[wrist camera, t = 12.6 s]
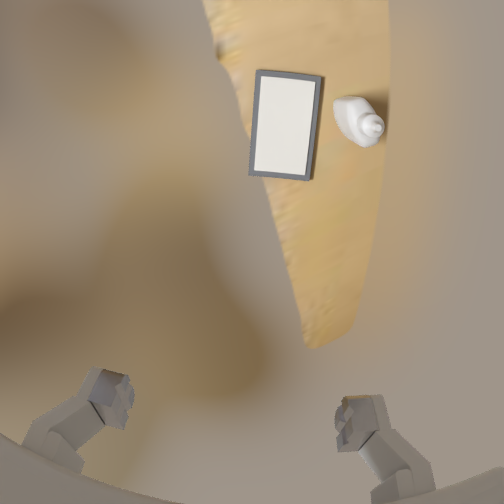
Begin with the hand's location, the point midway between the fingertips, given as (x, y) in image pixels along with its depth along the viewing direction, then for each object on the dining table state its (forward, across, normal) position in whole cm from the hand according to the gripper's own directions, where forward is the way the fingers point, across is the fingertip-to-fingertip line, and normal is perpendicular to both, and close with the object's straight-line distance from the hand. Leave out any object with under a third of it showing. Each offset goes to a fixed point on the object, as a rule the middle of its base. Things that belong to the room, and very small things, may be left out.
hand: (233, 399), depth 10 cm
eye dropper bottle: (+33, -10, -8) cm, 36 cm away
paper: (+33, -2, -6) cm, 34 cm away
